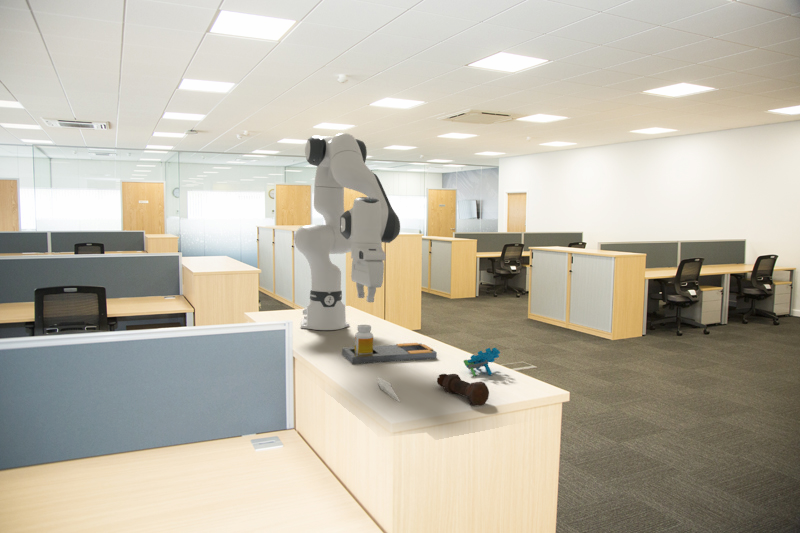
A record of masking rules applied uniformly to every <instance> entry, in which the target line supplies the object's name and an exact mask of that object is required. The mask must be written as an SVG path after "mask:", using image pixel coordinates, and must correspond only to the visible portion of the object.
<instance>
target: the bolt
mask: <svg viewBox="0 0 800 533" xmlns="http://www.w3.org/2000/svg"><path fill="white" fill-rule="evenodd" d="M436 382H437V385H439V386H440V387H442V388H443V389H444V391H445V393H446V394H447V393H448V394H458V395H461V396H463V397H465V398H466V399H467V401H468V403H469V405H471V406H472V407H479V406H483V405H485V404H486V403H487V401H488V399H489V396H490V391H489V387H488V386H487V384H486V383H485V382H483V381H476V382H471V383H470V382H468V381H465V380H462V378H461V377H460V375H459V374H457V373H449V374H446V373H442V374H439V375H438V376H437V379H436Z"/></svg>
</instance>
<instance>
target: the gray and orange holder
mask: <svg viewBox="0 0 800 533" xmlns="http://www.w3.org/2000/svg"><path fill="white" fill-rule="evenodd" d="M341 350H342V351H341V355H342V356H343V357H344V358H346V360H347V361H349V362H350V364H352V365H361V364H377V363H379V364H380V363H391V362H392V363H394V362H396V363H397V362H408V361H409V362H411V361H422V360H424V361H425V360H436V359H437V358H438V357H437V356H438V354H437V351H435V350H434V349H433V348H432V347H430V346H428V345H426V344H423V343H418V342H407V343H396V344H389V345H388V344H387V345H373V354H363V355H355V346H350V347H349V346H348V347H342V349H341Z"/></svg>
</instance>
